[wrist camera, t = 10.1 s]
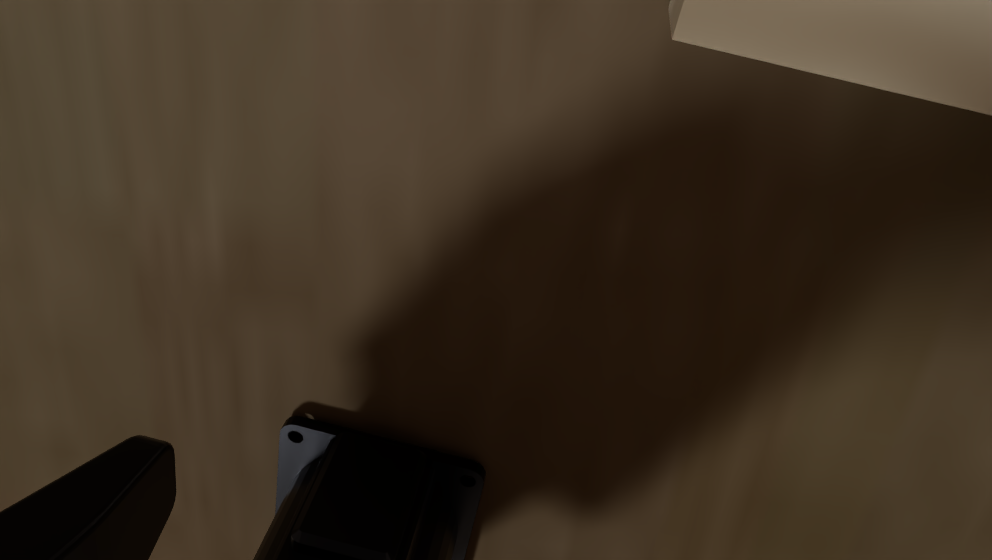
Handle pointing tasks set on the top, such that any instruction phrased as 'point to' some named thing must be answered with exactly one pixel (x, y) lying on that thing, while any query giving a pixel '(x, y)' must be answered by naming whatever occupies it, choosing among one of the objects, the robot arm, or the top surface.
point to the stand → (857, 41)
